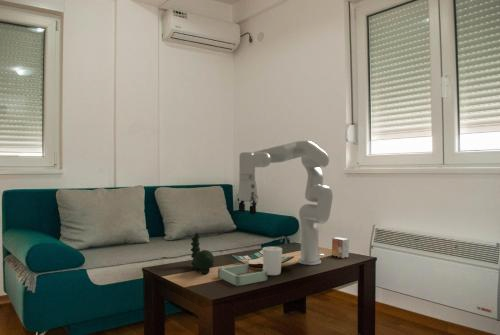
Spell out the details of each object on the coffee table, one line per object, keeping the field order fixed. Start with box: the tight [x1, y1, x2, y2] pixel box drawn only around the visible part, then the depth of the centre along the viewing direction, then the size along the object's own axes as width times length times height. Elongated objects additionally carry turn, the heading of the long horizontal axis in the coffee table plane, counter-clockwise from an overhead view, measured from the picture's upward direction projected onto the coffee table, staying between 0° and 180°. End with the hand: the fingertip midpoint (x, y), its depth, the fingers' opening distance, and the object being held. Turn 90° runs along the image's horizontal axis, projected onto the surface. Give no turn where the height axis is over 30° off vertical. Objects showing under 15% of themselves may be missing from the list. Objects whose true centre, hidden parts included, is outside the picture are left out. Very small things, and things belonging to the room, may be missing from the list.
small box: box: [331, 236, 350, 259], centre depth 226 cm, size 8×6×10 cm
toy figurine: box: [190, 232, 215, 275], centre depth 194 cm, size 9×19×25 cm
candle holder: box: [261, 246, 283, 276], centre depth 190 cm, size 10×10×12 cm
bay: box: [217, 259, 268, 287], centre depth 180 cm, size 16×17×6 cm
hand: (247, 213), depth 188 cm, fingers open, 9 cm apart
